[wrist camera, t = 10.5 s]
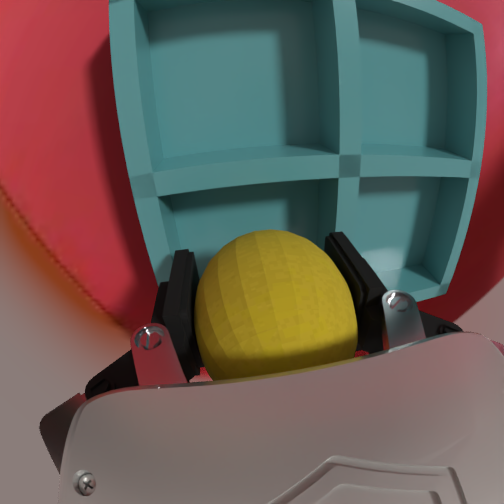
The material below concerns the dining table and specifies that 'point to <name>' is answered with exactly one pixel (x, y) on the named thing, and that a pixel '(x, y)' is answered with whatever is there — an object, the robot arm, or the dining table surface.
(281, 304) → the lemon
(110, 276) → the dining table surface
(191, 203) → the square compartment tray
